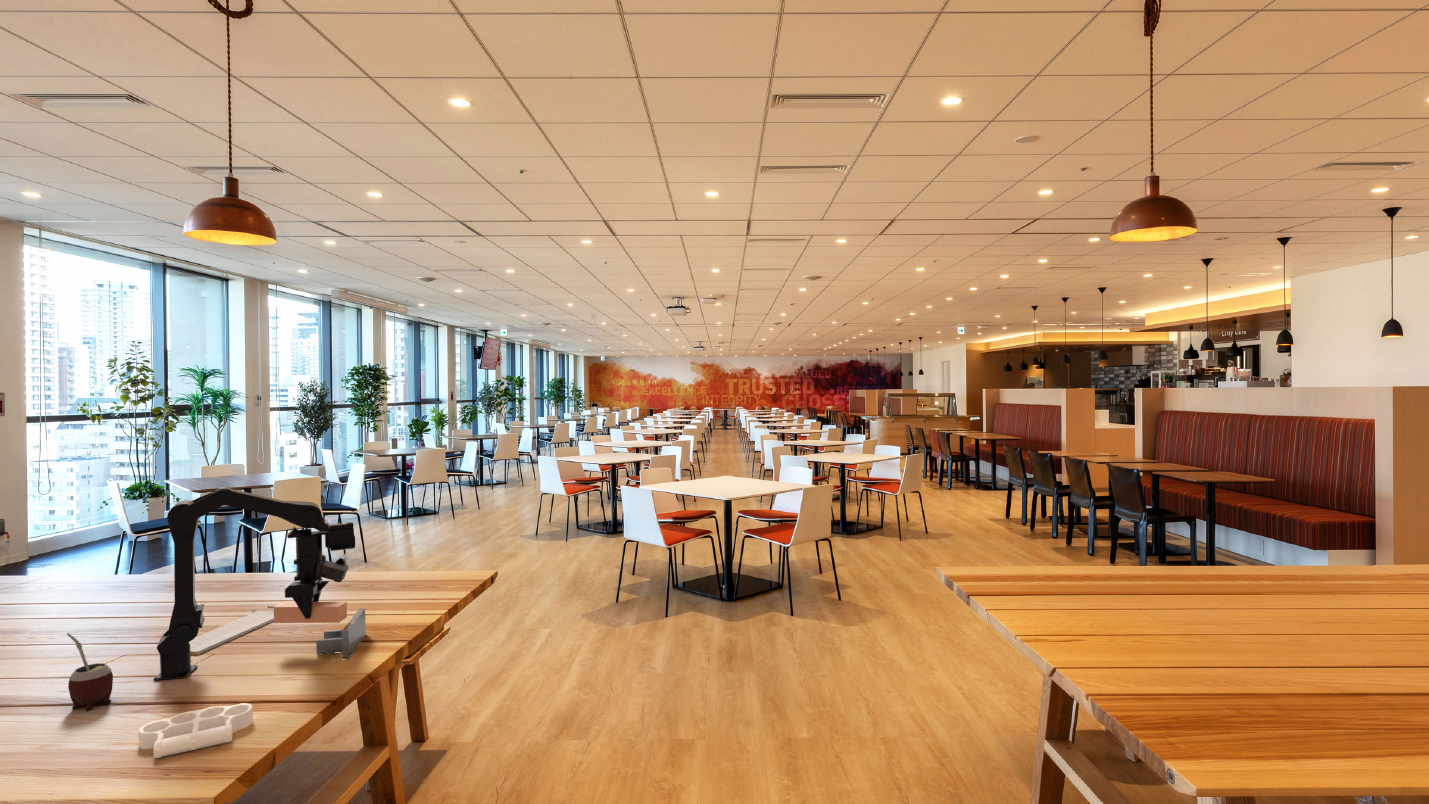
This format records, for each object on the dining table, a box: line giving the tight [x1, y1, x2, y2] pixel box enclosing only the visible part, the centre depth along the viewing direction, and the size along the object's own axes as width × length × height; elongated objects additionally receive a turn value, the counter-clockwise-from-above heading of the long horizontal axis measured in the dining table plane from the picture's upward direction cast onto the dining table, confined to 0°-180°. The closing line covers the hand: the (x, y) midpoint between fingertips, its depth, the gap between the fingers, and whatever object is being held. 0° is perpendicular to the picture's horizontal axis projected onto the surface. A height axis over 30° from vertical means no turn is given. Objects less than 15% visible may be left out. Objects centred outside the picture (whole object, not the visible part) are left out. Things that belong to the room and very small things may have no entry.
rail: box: [273, 601, 348, 624], centre depth 183 cm, size 16×4×4 cm, turn 90°
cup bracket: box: [315, 607, 367, 660], centre depth 185 cm, size 18×8×7 cm, turn 14°
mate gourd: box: [66, 632, 114, 712], centre depth 153 cm, size 8×8×15 cm
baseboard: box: [189, 605, 275, 656], centre depth 197 cm, size 31×3×12 cm
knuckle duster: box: [138, 702, 254, 759], centre depth 140 cm, size 3×18×15 cm
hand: (310, 615), depth 183 cm, fingers closed on rail, 4 cm apart
